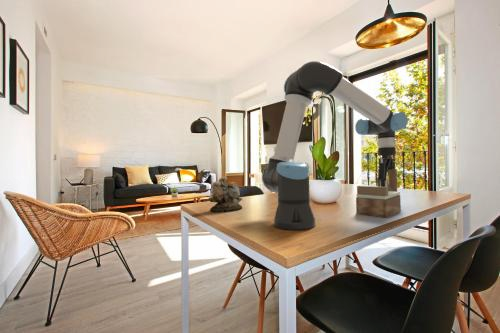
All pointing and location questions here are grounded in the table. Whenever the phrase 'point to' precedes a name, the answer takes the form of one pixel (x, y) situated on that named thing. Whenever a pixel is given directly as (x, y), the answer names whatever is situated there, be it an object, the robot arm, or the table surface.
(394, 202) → the toolbox
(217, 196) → the owl figurine
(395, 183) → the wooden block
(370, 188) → the lid
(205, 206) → the table surface
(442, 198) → the table surface
